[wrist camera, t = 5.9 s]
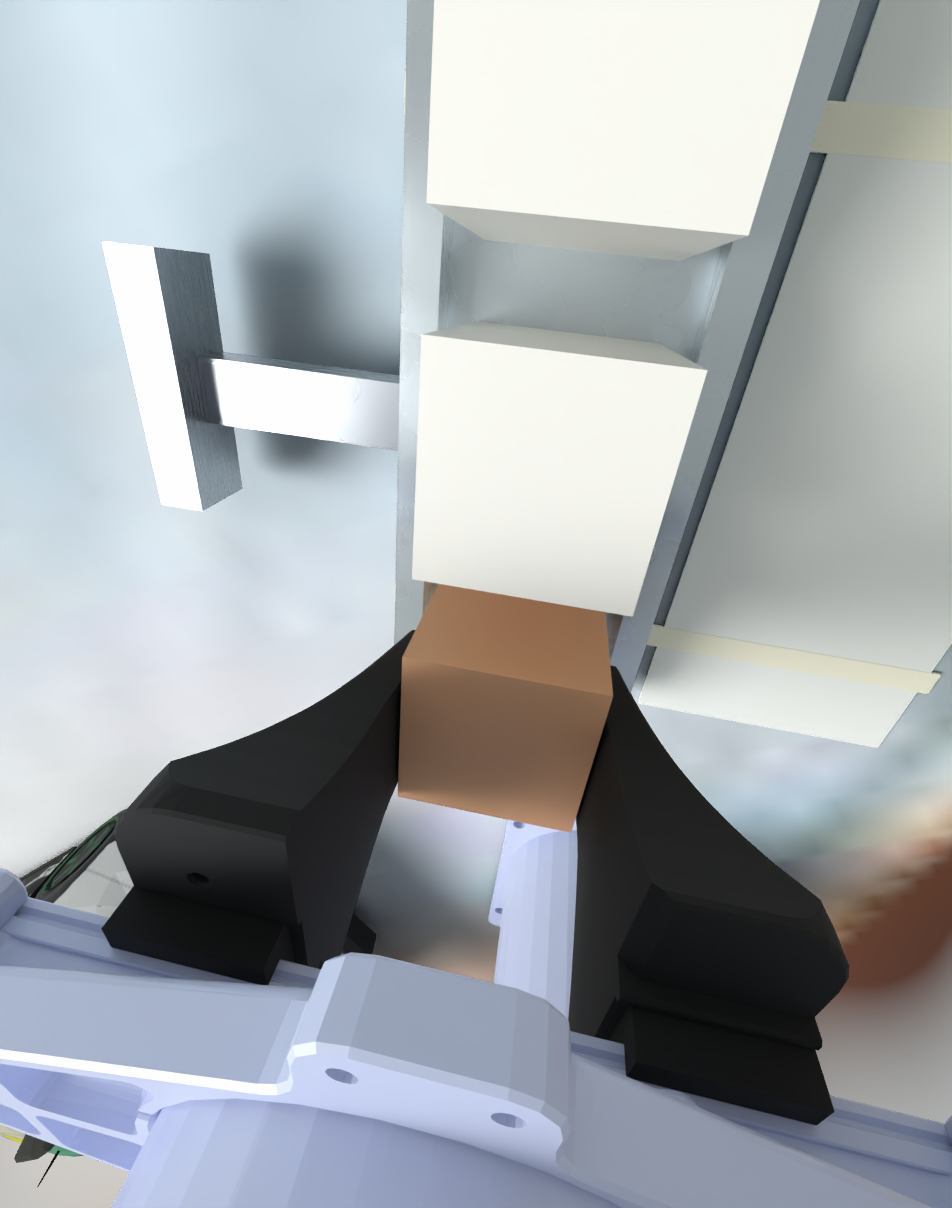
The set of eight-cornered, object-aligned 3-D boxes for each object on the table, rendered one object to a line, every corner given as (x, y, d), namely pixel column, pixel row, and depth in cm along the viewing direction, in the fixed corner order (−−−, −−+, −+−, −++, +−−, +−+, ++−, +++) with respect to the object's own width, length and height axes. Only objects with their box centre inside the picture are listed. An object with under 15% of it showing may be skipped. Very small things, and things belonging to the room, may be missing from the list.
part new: (572, 690, 16) (570, 832, 12) (444, 666, 16) (397, 796, 12) (602, 575, 14) (613, 696, 10) (455, 550, 14) (402, 657, 10)
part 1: (680, 260, 11) (748, 236, 6) (485, 240, 11) (425, 203, 7) (753, -32, 8) (932, -369, 4) (511, -47, 9) (447, -365, 5)
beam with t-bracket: (605, 688, 19) (610, 754, 16) (251, 623, 20) (200, 673, 17) (827, -60, 10) (927, -203, 7) (141, -94, 11) (-5, -226, 8)
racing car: (-80, 927, 41) (-297, 1135, 30) (221, 740, 26) (5, 1015, 16) (97, 1030, 46) (-35, 1237, 36) (429, 922, 32) (369, 1217, 21)
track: (885, 748, 18) (887, 750, 18) (394, 656, 20) (393, 658, 20) (1473, -69, 9) (1481, -72, 8) (410, -114, 10) (408, -117, 10)
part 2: (615, 515, 13) (632, 617, 9) (463, 492, 14) (411, 578, 10) (658, 342, 11) (707, 370, 7) (478, 320, 12) (420, 334, 7)
